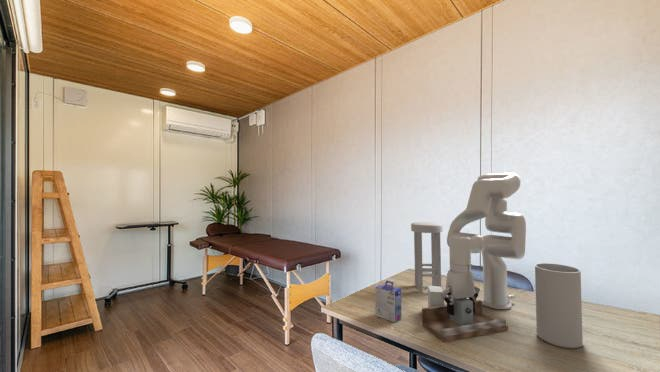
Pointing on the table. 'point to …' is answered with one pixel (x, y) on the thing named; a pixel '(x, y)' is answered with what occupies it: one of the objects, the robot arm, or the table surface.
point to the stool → (435, 249)
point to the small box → (435, 296)
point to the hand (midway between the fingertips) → (461, 312)
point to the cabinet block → (462, 312)
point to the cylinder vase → (559, 304)
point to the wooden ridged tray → (449, 330)
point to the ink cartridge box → (388, 302)
